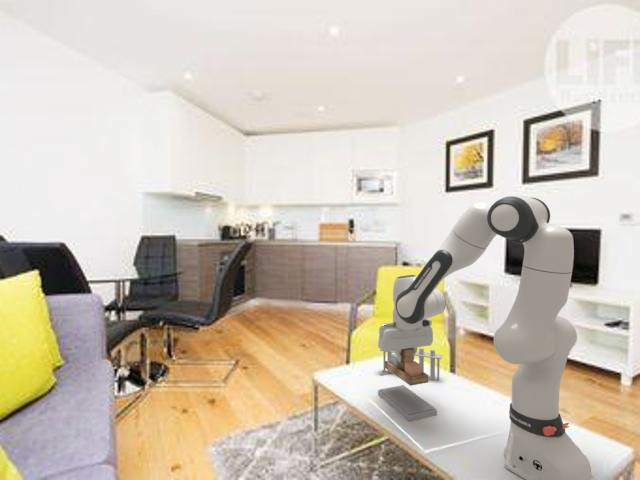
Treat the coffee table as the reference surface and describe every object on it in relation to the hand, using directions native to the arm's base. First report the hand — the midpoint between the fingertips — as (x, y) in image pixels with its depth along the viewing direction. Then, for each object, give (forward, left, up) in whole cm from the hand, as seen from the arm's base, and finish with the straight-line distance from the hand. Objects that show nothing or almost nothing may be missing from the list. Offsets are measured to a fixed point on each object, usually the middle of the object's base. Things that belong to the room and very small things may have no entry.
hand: (405, 360), depth 132 cm
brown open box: (0, 0, -5) cm, 5 cm away
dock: (0, 0, -17) cm, 17 cm away
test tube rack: (+20, -15, -17) cm, 30 cm away
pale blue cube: (+5, 0, -4) cm, 6 cm away
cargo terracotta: (-4, 0, -4) cm, 6 cm away
